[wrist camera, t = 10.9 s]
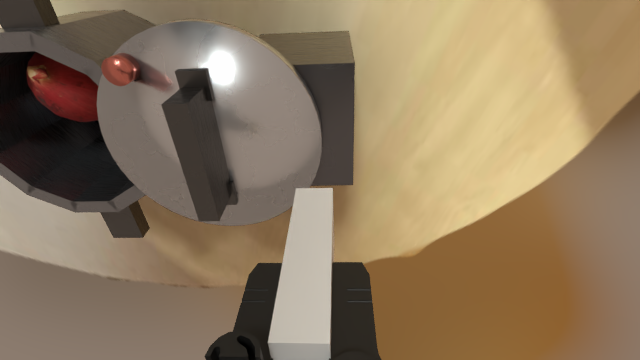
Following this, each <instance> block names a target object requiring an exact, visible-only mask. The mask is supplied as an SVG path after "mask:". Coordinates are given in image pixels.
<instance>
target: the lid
mask: <svg viewBox="0 0 640 360" xmlns="http://www.w3.org/2000/svg"><path fill="white" fill-rule="evenodd" d="M101 69H102V76H101V78H100V83H99V87H98V92H97V113H98V121H99V125H100V129H101V133H102V135H103V138H104V141H105V143H106V146H107V148H108V149H109V151H110V153H111V155H112V157H113V159H114V160H115V162H116V163H117V165H118V166H119V168H120V169H121V170H122V171H123V173H124V174H125V175H126V176H127V177H128V179H129V180H130V181H131V182H132V183H133V184H134V185H135V186H136V187H137V188H138V189H140V190H141V191H142V192H143V193H144V194H146V195H147V196H148V197H149V198H151V199H152V200H154V201H155V202H157V203H158V204H160V205H161V206H163V207H165V208H167V209H169V210H171V211H172V212H175V213H177V214H179V215H182V216H184V217H187V218H190V219H193V220H196V221H199V222H204V223H208V224H215V225H224V226H239V225H249V224H255V223H259V222H262V221H266V220H269V219H271V218H273V217H276V216H278V215H280V214H281V213H283V212H285V211H287V210H288V209H289V208H291V207H292V206H293V203H294V197H295V192H296V188H309V187H310V186H311V184H312V182H313V180H314V178H315V176H316V173H317V170H318V167H319V164H320V158H321V151H322V127H321V120H320V116H319V112H318V108H317V105H316V103H315V100H314V98H313V95H312V93H311V91H310V90H309V88H308V86H307V84H306V83H305V81H304V79H303V78H302V77H301V75H300V74H299V73H298V71H297V70H296V69H295V67H294V66H293V65H292V64H291V63H290V62H289V61H288V60H287V59H286V58H285V57H284V56H283V55H282V54H281V53H279V52H278V51H277V50H276V49H275V48H273V47H272V46H271V45H270V44H268V43H266V42H265V41H263V40H262V39H260V38H258V37H257V36H255V35H253V34H251V33H249V32H247V31H245V30H242V29H240V28H238V27H235V26H231V25H228V24H225V23H222V22H216V21H210V20H200V19H185V20H177V21H171V22H167V23H164V24H160V25H157V26H154V27H151V28H149V29H147V30H145V31H142V32H140V33H138V34H136V35H134V36H133V37H132V38H130V39H129V40H128V41H126V42H125V43H123V44H122V45H121V46H120V48H119V49H118V50H117V51H116V52H115V53H114V54H113V55H112V56H111V57H109V58H106V59H105V60H104V61H103V62H102V65H101Z"/></svg>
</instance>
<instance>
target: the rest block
mask: <svg viewBox="0 0 640 360" xmlns="http://www.w3.org/2000/svg"><path fill="white" fill-rule="evenodd" d="M258 38H260V39H262V40H263V41H265V42H266V43H268V44H270V45H271V46H272V47H273V48H275V49H276V50H277V51H278V52H279V53H281V54H282V55H283V56H284V57H285V58H286V59H287V60H288V61H289V62H290V63H291V64H292V65H293V66H294V67H295V69H296V70H297V71H298V73H299V74H300V75H301V77H302V78H303V79H304V81H305V83H306V84H307V86H308V88H309V90H310V91H311V93H312V95H313V98H314V100H315V103H316V105H317V108H318V112H319V116H320V120H321V127H322V151H321V158H320V164H319V167H318V170H317V173H316V176H315V178H314V180H313V182H312V184H311V186H320V185H353V145H354V70H355V62H354V57H353V52H352V46H351V41H350V35H349V31H338V32H314V33H289V34H265V35H260V36H259V37H258Z"/></svg>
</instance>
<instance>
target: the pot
mask: <svg viewBox="0 0 640 360" xmlns="http://www.w3.org/2000/svg"><path fill="white" fill-rule="evenodd" d="M0 24H1V26H2V28H0V175H1V176H3V177H4V178H5V179H7V180H8V181H9V182H11V183H12V184H13V185H15V186H16V187H17V188H19V189H20V190H22V191H23V192H24V193H26V194H27V195H29V196H32V197H35V198H37V199H40V200H43V201H46V202H48V203H51V204H54V205H57V206H60V207H62V208H65V209H68V210H71V211H73V212H100V213H101V215H102V217H103V218H104V220H105V222H106V224H107V226H108V228H109V230H110V232H111V234H112V235H113V237H114V238H143V237H144V235H145V234H146V233H147V231H148V230H149V225H148V223H147V221H146V219H145V216H144V214H143V212H142V209H141V207H140V205H139V203H138V200H139V199H140V198H142V197H143V196H145V195H146V194H144V193H143V192H142V191H141V190H140V189H138V188H137V187H136V186H135V185H134V184H133V183H132V182H131V181H130V180H129V179H128V177H127V176H126V175H125V174H124V173H123V171H122V170H121V169H120V168H119V166H118V165H117V163H116V162H115V160H114V159H113V157H112V155H111V153H110V151H109V149H108V148H107V146H106V143H105V141H104V138H103V135H102V133H101V129H100V125H99V121H98V120H96V121H90V122H79V121H75V120H71V119H67V118H64V117H60V116H58V115H56V114H54V113H53V112H52V111H50V110H49V109H48V108H47V107H45V106H44V105H43V104H42V103H40V102H39V101H38V100H37V99H36V97H35V96H34V94H33V92H32V91H31V89H30V87H29V86H28V83H27V75H26V71H27V67H28V62H29V60H30V59H31V57H32V56H33V55H34V53H35V52H38V53H40V54H42V55H44V56H46V57H49V58H51V59H53V60H55V61H57V62H60V63H62V64H64V65H66V66H68V67H71V68H73V69H75V70H77V71H79V72H82V73H84V74H86V75H88V76H89V77H90V78H91V79H92V80H93V81H94V82H95V83H96V84H97V85H98V86H99V83H100V78H101V76H102V69H101V65H102V62H103V61H104V60H105V59H106V58H109V57H111V56H112V55H113V54H114V53H115V52H116V51H117V50H118V49H119V48H120V46H121V45H122V44H123V43H125V42H126V41H128V40H129V39H130V38H132V37H133V36H134V35H136V34H138V33H140V32H142V31H145V30H147V29H149V28H151V27H154V26H155V25H154V24H152V23H150V22H148V21H147V20H144V19H142V18H140V17H138V16H135V15H133V14H131V13H129V12H127V11H125V10H112V11H90V12H80V13H74V14H69V15H64V16H59V17H57V16H56V13H55V11H54V9H53V7H52V4H51V2H50V0H0Z"/></svg>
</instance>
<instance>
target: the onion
mask: <svg viewBox="0 0 640 360" xmlns="http://www.w3.org/2000/svg"><path fill="white" fill-rule="evenodd" d="M26 75H27V83H28V86H29V87H30V89H31V91H32V92H33V94H34V96H35V97H36V99H37V100H38V101H39V102H40V103H42V104H43V105H44V106H45V107H47V108H48V109H49V110H50V111H52V112H53V113H54V114H56V115H58V116H60V117H64V118H67V119H71V120H75V121H79V122H90V121H96V120H98V113H97V92H98V87H99V86H98V85H97V84H96V83H95V82H94V81H93V80H92V79H91V78H90V77H89V76H88V75H86V74H84V73H82V72H79V71H77V70H75V69H73V68H71V67H68V66H66V65H64V64H62V63H60V62H57V61H55V60H53V59H51V58H49V57H46V56H44V55H42V54H40V53H38V52H35V53H34V55H33V56H32V57H31V59H30V60H29V62H28V67H27V71H26Z"/></svg>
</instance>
